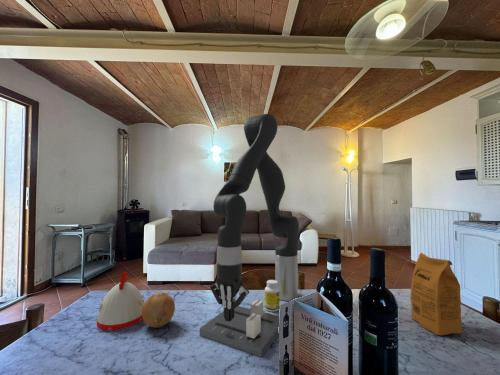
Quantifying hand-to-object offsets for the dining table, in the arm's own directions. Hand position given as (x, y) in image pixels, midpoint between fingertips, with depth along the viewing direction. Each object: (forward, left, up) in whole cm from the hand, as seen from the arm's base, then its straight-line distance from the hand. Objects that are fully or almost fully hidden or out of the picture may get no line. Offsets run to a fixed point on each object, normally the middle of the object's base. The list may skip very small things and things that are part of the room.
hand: (228, 319), depth 69 cm
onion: (+7, -22, -4) cm, 23 cm away
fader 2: (0, +8, -2) cm, 8 cm away
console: (-4, +3, -4) cm, 7 cm away
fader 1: (-9, +5, -2) cm, 10 cm away
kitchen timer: (+10, -36, -4) cm, 38 cm away
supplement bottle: (-21, +5, -4) cm, 22 cm away
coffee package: (-35, +55, -4) cm, 65 cm away
